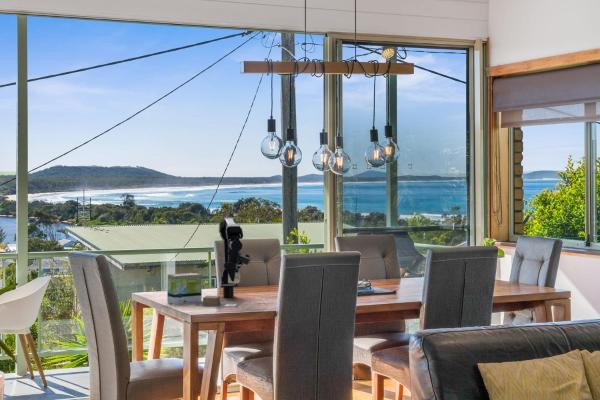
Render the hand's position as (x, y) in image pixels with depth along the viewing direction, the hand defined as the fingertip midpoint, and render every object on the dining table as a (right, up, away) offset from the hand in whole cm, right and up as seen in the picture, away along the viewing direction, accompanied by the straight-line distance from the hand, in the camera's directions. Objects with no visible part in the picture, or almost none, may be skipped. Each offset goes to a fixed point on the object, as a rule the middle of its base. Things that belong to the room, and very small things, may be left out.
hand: (234, 280), depth 429 cm
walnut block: (-11, -12, -5) cm, 17 cm away
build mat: (-7, -12, -2) cm, 14 cm away
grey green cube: (0, -1, 0) cm, 1 cm away
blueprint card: (-1, -12, -7) cm, 14 cm away
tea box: (-26, -12, +8) cm, 30 cm away
